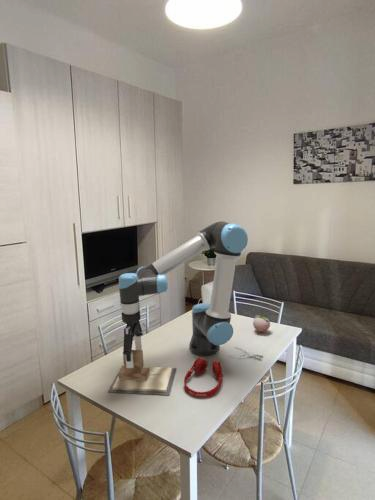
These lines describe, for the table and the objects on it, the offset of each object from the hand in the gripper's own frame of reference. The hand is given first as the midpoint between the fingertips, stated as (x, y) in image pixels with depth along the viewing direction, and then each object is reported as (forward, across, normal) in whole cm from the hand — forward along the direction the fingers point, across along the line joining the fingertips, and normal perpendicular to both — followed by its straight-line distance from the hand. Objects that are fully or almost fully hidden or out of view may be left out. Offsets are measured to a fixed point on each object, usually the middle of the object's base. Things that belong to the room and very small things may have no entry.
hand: (134, 358), depth 139 cm
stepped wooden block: (+8, 0, -1) cm, 8 cm away
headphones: (+11, 0, +29) cm, 31 cm away
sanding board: (+10, 0, +3) cm, 10 cm away
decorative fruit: (+12, -49, +57) cm, 76 cm away
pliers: (+12, -23, +48) cm, 55 cm away
